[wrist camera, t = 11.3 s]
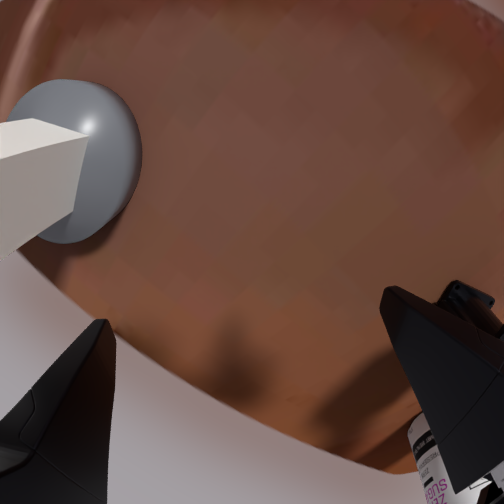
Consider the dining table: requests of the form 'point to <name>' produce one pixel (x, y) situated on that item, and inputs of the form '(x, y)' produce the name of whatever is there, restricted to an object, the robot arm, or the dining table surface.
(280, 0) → the dining table surface
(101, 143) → the grey dome
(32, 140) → the carton
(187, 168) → the dining table surface
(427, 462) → the supplement can
